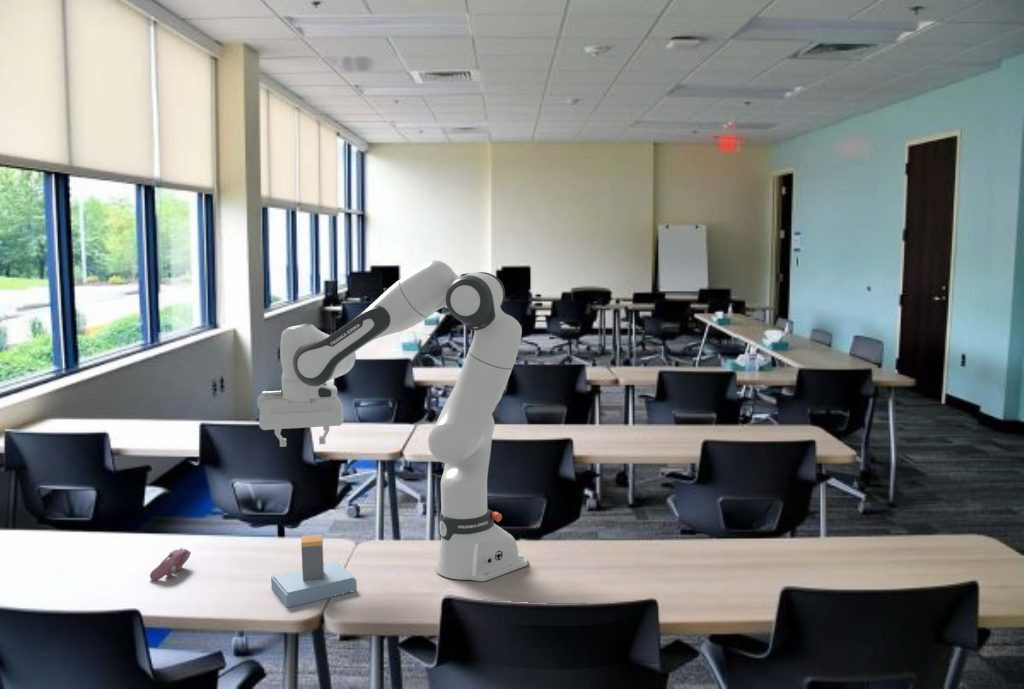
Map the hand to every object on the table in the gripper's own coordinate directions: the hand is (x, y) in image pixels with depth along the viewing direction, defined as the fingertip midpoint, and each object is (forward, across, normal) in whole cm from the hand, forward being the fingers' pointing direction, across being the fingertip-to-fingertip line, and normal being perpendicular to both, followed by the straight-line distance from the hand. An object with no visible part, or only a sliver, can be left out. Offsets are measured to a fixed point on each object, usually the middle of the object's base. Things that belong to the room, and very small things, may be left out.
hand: (302, 444), depth 206 cm
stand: (+29, +2, -20) cm, 36 cm away
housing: (+26, +2, -20) cm, 33 cm away
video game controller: (+29, -32, -3) cm, 43 cm away
